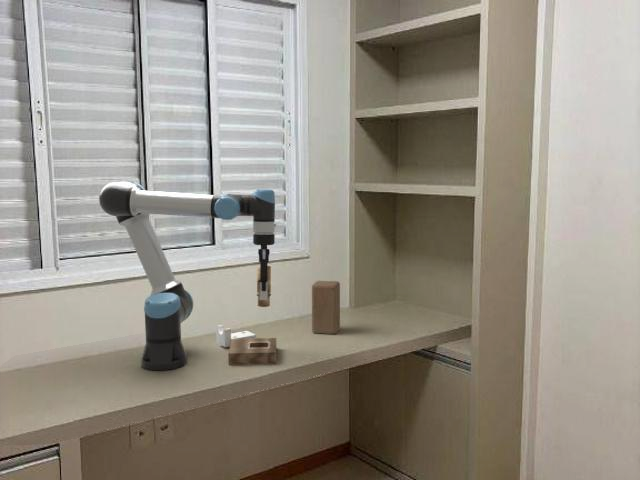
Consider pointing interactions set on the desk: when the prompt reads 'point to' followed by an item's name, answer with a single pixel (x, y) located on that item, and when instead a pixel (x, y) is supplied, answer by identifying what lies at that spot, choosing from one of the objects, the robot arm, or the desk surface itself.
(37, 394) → the desk surface
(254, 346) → the seat board
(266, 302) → the oak peg
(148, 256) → the robot arm
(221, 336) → the bracket
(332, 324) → the wooden block
